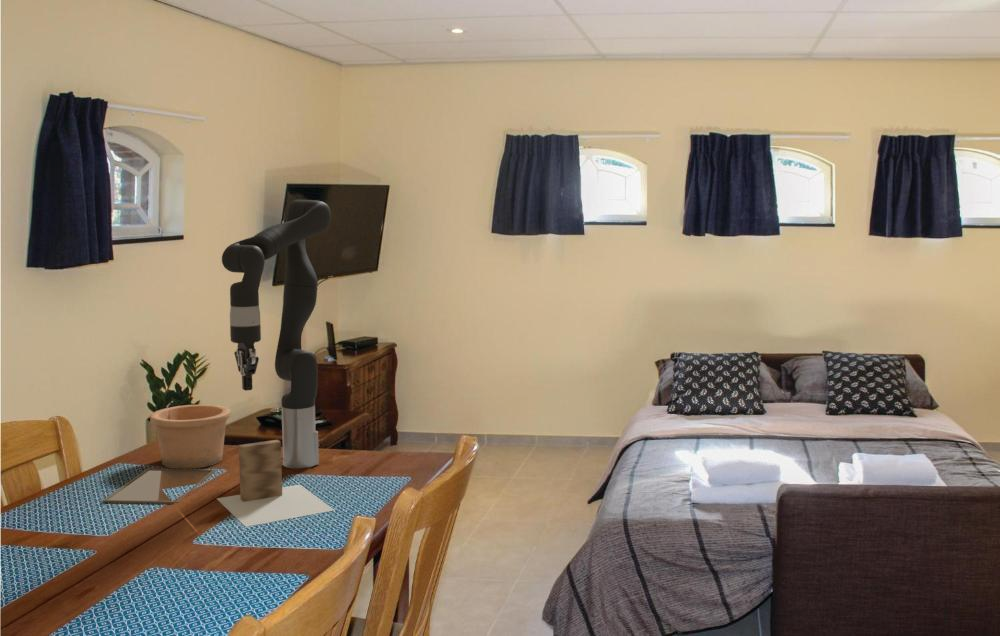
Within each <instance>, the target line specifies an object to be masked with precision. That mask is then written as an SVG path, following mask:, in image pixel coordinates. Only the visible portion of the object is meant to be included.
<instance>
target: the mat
mask: <svg viewBox="0 0 1000 636" xmlns="http://www.w3.org/2000/svg"><path fill="white" fill-rule="evenodd" d="M216 500H217V501H218V502H219V503H220V504H221V505H222V506H223V507H224V508H226V509H227V510H228V512H229V513H231V514H232V515H233V516H234V517H235V518H236V520H238V521H239V522H240V523H241V524H242V525H243V526H244V527H245V528H246V527H252V526H257V525H262V524H263V525H264V524H268V523H274V522H279V521H286V520H289V519H296V518H302V517H306V516H310V515H317V514H321V513H322V514H323V513H327V512H328V513H329V512H331V511H332V512H333V511H335V509H334V508H333V507H332V506H331V505H329V504H328V503H326V502H325V501H323V500H322V499H320V498H319V497H318V496H316V495H315V494H314V493H312V492H311V491H310V490H308V489H307V488H305V487H304V486H303V485H301V484H295V485H290V486H282V495H281V496H275V497H270V498H264V499H258V500H252V501H246V502H243V501H242V500H241V497H240V494H234V495H229V496H224V497H223V496H222V497H217V498H216Z"/></svg>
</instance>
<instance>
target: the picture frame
mask: <svg viewBox="0 0 1000 636" xmlns="http://www.w3.org/2000/svg"><path fill="white" fill-rule="evenodd" d="M215 473H216V469H197V468H196V469H173V468H146V469H145V470H144V471H142V472H141V473H139V474H138V475H136V476H135V477H133V478H132V479H131V480H129V481H128V482H126V483H124V485H122V486H121V487H119V488H118V489H116V490H115V491H113V492H112V493H110V494H109V495H108V496H106V497H105V498H103V499H102V501H101V503H102V502H111V503H110V504H135V503H154V504H153V505H175V504H176V503H179V502H180V501H182V500H183V499H184V498H185V497H187V495H189V494H190V493H191V492H192V491H193V490H195V489H196V487H198V486H199V485H200V484H203V483H204V482H205V481H207V480H208V479H210V477H211V476H212V475H213V474H215ZM187 486H192V487H191V488H190V489H189V490H187V492H186V493H184V494H183V495H182V496H181V497H179V498H178V499H177V500H171V498H170V497H169V496H168V495H167V493H165V492H164V490H168V489H174V488H181V487H187Z"/></svg>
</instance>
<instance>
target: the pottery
mask: <svg viewBox="0 0 1000 636" xmlns="http://www.w3.org/2000/svg"><path fill="white" fill-rule="evenodd" d="M149 416H150V417H149V420H150V424H152V425H154V428H155V433H156V438H157V443H158V444H157V445H158V447H159V453H160V457H161V465H162V466H164V467H165V468H167V469H196V470H197V469H200V468H201V469H203V468H207V467H212V466H214V465H216V464H219V463H220V462H222V460H223V455H224V453H223V452H224V446H225V445H224V444H225V434H226V425H227V420H229V419H230V418H231V411H230V409H229V408H227V407H225V406H222V405H217V404H215V405H214V404H186V405H177V406H171V407H165V408H161V409H158V410H156V411H154V412H152V413H151V414H150V415H149Z"/></svg>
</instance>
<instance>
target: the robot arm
mask: <svg viewBox="0 0 1000 636" xmlns="http://www.w3.org/2000/svg"><path fill="white" fill-rule="evenodd" d="M286 213H287V214H286V221H285V222H281V223H278V224H277V223H276V224H274V225H271V226H268V227H267V228H265V229H262V230H261V231H259V232H258V233H256V234H255V235H254V236H251V237H247V238H244V239H242V240H238V241H235V242H234V243H231V244H230V245H228V246H227V247H226V248H225V249H224V250H223V252H222V255H221V264H222V266H223V267H224V269H225V270H227V271H228V272H231V273H236V274H237V273H239V274H243V276H242V279H241V281H237V282H234V283H232V284H231V285H230V289H229V301H230V307H229V329H230V333H229V334H230V335H229V336H230V341H231V342H232V343H233V344H237V348H236V350H235V351H234V352H233V353H234V357H235V362H236V365H237V371H238V373H239V372H240V376H241V386H242V387H241V388H242V390H243V391H252V390H253V376H254V375H256V371H257V368H258V364H259V360H260V358H259V357H258V356H256V355H257V349H256V348H255V344H256V343H259V342H261V340H262V335H261V333H262V332H261V331H262V330H261V328H262V327H261V325H262V324H261V311H260V300H259V299H260V298H259V289H260V285H261V280H262V275H263V272H264V268H265V262H266V260H269V259H271V258H272V257H274V256H276V255H277V254H278V253H281V252H282V251H283V250H285V249H286V261H285V262H286V264H285V276H284V283H283V284H284V285H283V296H282V299H283V301H282V311H281V320H280V321H281V322H280V330H279V336H278V342H277V347H276V352H275V359H274V371H275V373H276V376H278V377H279V379H282V380H283V381H288V382H290V392H288V393H286V394H284V395H282V397H281V402H280V403H281V427H282V430H281V431H282V432H281V433H282V463H283V464H282V465H283V467H285V468H287V469H294V470H295V469H305V468H312V467H314V466H318V465H319V463H320V461H319V459H320V458H319V457H320V456H319V431H317V430H316V397H317V395H318V382H319V380H318V379H319V378H318V377H319V365H318V364H319V363H318V360H317V357H316V355H315V354H314V353H312V352H311V351H309V350H304V349H301V344H302V335H303V331H304V328H305V326H306V324H307V322H308V320H309V318H310V317H311V316H312V313H313V311H314V309H315V307H316V304H317V298H318V297H317V295H318V287H319V286H318V284H319V282H318V277H317V274H316V272H315V269H314V267H313V264H312V262H311V260H310V258H309V256H308V254H307V249H306V239H307V238H310V237H313V236H315V235H318V234H321V233H324V232H325V231H326V230H327V229H328V227H329V226H330V224H331V221H332V213H331V209H330V207H329V205H328V204H327V203H325V202H324V201H320V200H317V199H315V200H314V199H313V200H312V199H311V200H310V199H294V200H292V201H291V202H290V204H289V205H288V207H287V212H286Z"/></svg>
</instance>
